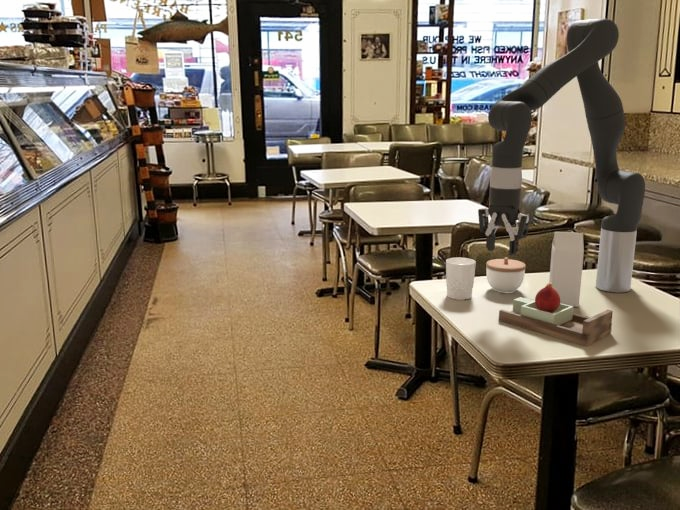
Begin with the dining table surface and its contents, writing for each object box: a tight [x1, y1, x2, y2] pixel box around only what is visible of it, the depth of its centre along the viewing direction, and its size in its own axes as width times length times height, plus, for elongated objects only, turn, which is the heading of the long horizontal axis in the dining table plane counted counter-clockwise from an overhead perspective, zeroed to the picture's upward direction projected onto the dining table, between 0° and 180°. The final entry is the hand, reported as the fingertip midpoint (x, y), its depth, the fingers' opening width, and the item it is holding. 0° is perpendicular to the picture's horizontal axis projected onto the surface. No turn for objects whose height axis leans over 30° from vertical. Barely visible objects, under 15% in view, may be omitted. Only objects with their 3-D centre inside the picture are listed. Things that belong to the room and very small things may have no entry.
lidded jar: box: [485, 257, 527, 293], centre depth 190 cm, size 11×11×9 cm
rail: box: [498, 309, 614, 347], centre depth 161 cm, size 11×23×6 cm, turn 43°
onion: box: [534, 282, 560, 313], centre depth 162 cm, size 6×6×8 cm
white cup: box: [445, 256, 476, 301], centre depth 184 cm, size 8×8×10 cm
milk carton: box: [548, 231, 585, 308], centre depth 178 cm, size 7×7×19 cm
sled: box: [512, 296, 575, 325], centre depth 164 cm, size 9×13×3 cm
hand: (501, 252), depth 169 cm, fingers open, 5 cm apart
